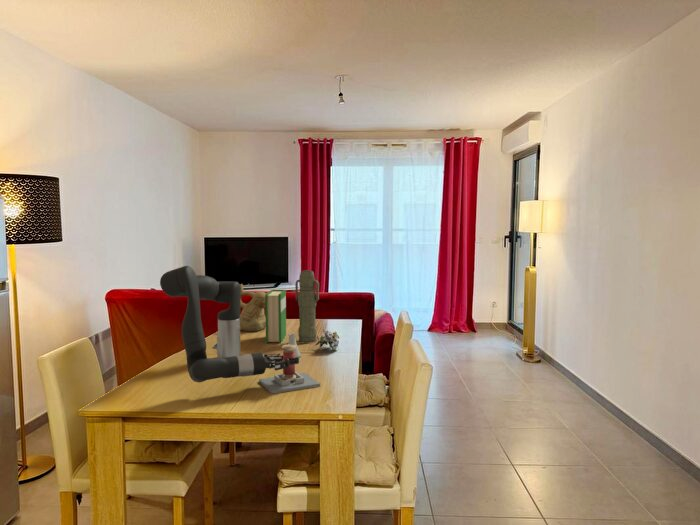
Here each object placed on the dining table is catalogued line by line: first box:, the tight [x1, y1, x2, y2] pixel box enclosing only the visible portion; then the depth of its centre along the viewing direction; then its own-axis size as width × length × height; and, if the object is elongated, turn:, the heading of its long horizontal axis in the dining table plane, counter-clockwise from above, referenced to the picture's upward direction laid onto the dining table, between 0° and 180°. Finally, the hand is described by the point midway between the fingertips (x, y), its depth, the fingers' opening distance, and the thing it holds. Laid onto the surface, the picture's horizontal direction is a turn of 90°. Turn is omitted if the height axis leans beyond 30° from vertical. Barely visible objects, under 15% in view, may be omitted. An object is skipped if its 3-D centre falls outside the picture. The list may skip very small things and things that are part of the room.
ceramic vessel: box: [239, 283, 267, 332], centre depth 273 cm, size 17×20×25 cm
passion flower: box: [315, 328, 340, 352], centre depth 227 cm, size 11×11×12 cm
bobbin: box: [281, 344, 296, 381], centre depth 178 cm, size 5×5×12 cm
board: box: [258, 371, 321, 395], centre depth 178 cm, size 18×15×3 cm
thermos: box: [294, 269, 320, 344], centre depth 244 cm, size 9×12×35 cm
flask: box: [287, 333, 302, 359], centre depth 215 cm, size 7×7×10 cm
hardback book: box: [264, 289, 287, 344], centre depth 248 cm, size 18×7×24 cm, turn 179°
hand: (296, 358), depth 179 cm, fingers closed on bobbin, 4 cm apart
